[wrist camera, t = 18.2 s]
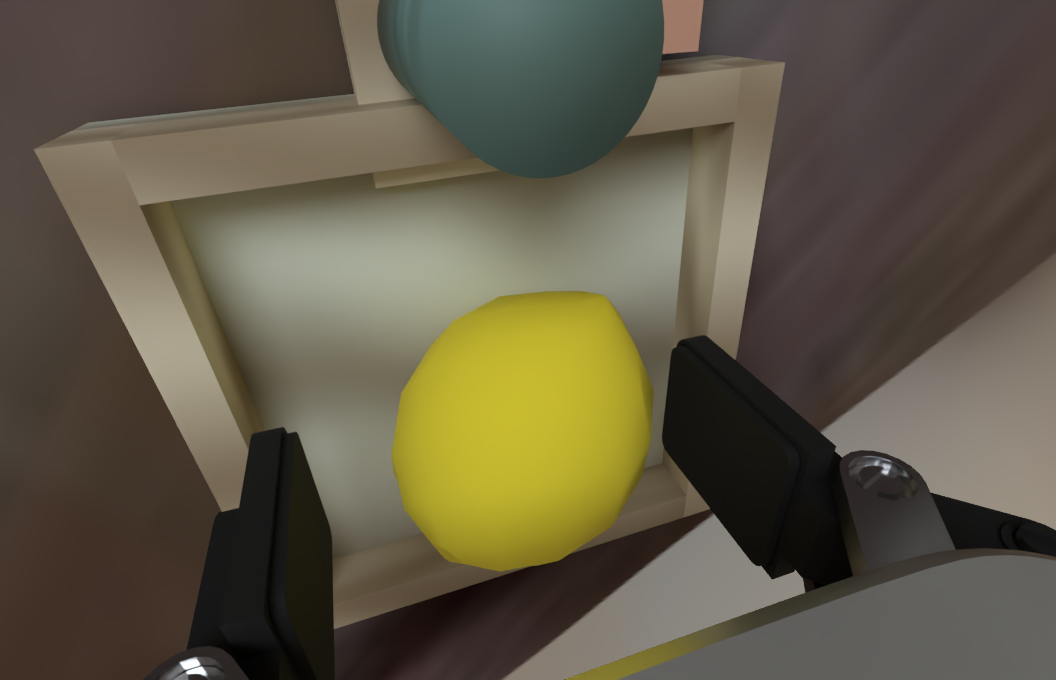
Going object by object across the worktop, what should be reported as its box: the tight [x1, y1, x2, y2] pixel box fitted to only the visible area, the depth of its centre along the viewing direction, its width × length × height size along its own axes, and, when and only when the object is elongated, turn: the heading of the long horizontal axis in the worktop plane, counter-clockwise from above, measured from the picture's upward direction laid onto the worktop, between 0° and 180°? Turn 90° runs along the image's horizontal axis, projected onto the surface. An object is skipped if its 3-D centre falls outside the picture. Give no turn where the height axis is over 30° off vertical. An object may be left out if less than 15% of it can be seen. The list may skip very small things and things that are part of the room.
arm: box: [34, 0, 785, 629], centre depth 11 cm, size 19×13×7 cm
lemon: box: [391, 291, 654, 572], centre depth 12 cm, size 7×5×5 cm
